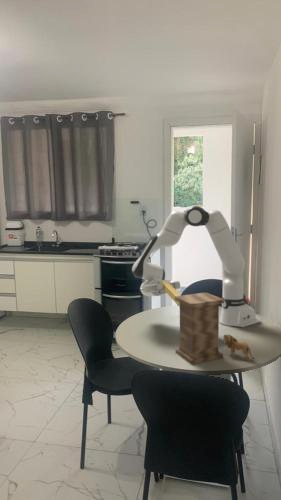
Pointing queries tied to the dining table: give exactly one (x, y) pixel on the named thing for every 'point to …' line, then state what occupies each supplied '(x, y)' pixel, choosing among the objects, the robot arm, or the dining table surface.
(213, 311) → the walnut pedestal
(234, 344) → the lion figurine
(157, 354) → the dining table surface
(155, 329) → the dining table surface
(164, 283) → the mustard rod
